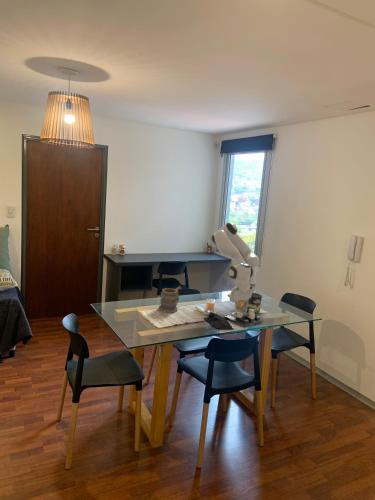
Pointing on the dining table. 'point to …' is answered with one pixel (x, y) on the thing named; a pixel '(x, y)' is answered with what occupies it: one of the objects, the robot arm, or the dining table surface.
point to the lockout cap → (240, 305)
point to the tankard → (169, 300)
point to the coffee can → (254, 303)
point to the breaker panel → (243, 319)
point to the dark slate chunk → (218, 321)
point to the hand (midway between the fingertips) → (239, 306)
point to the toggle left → (239, 314)
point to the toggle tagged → (251, 315)
